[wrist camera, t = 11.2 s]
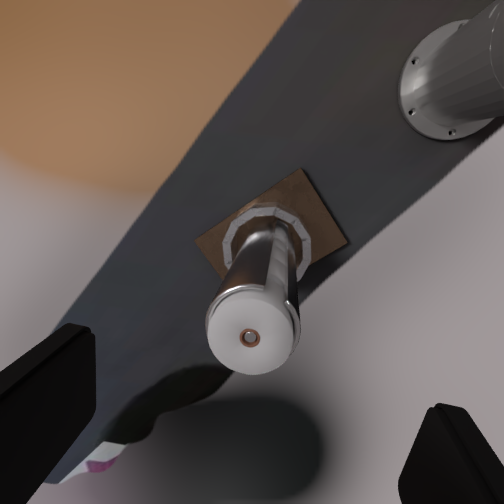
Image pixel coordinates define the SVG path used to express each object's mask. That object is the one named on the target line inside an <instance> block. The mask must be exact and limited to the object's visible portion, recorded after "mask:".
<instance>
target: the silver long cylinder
mask: <svg viewBox="0 0 504 504" xmlns="http://www.w3.org/2000/svg"><path fill="white" fill-rule="evenodd" d="M205 328H206V334H207V338H208V341H209V346H210V348H211V350H212V352H213V354H214V355H215V356H216V357H217V359H218V360H219V361H220V362H221V363H222V364H224V365H225V366H226V367H228V368H229V369H232V370H234V371H237V372H239V373H243V374H248V375H257V374H258V375H259V374H264V373H267V372H270V371H272V370H274V369H276V368H278V367H280V366H281V365H282V364H283V363H284V362H285V361H286V360H287V358H288V357H289V356H290V355H291V354H292V353H293V352H294V350H295V348H296V346H297V344H298V342H299V338H300V333H301V325H300V313H299V300H298V287H297V274H296V261H295V249H294V237H293V234H292V231H291V229H290V228H289V227H288V225H286V224H285V223H284V222H282V221H280V220H278V219H272V218H269V219H264V220H261V221H259V222H257V223H256V224H255V225H254V226H253V227H252V228H251V230H250V232H249V233H248V235H247V237H246V239H245V241H244V243H243V245H242V246H241V248H240V250H239V252H238V254H237V256H236V258H235V259H234V261H233V263H232V265H231V267H230V269H229V270H228V272H227V274H226V276H225V278H224V280H223V282H222V283H221V285H220V287H219V289H218V291H217V293H216V295H215V296H214V298H213V300H212V302H211V304H210V306H209V309H208V311H207V313H206V321H205Z"/></svg>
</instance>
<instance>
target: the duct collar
mask: <svg viewBox="0 0 504 504" xmlns="http://www.w3.org/2000/svg"><path fill="white" fill-rule="evenodd" d="M269 218H272V219H278V220H280V221H282V222H284V223H285V224H286V225H288V227H289V228H290V229H291V231H292V234H293V237H294V249H295V261H296V274H297V282H298V281H300V279H301V278H302V276H303V274H304V273H305V271H306V269H307V267H308V266H309V265H311V264H312V263H314V262H316V261H317V260H319V259H321V258H323V257H324V256H326V255H328V254H329V253H331V252H333V251H334V250H336V249H338V248H340V247H341V246H343V245H345V244H346V243H347V241H346V239H345V238H344V236H343V235H342V233H341V231H340V230H339V228H338V227H337V225H336V223H335V222H334V220H333V219H332V217H331V215H330V214H329V212H328V211H327V209H326V207H325V206H324V204H323V203H322V201H321V199H320V198H319V196H318V195H317V193H316V191H315V190H314V188H313V187H312V185H311V183H310V182H309V180H308V179H307V177H306V175H305V174H304V172H303V171H302V169H301V168H299V169H298V170H296V171H295V172H293V173H292V174H290V175H289V176H287V177H286V178H284V179H283V180H281V181H280V182H279V183H277V184H276V185H274V186H273V187H271V188H270V189H268V190H267V191H265V192H264V193H262V194H261V195H259V196H258V197H256V198H255V199H254V200H252V201H251V202H249V203H248V204H246V205H245V206H243V207H242V208H240V209H239V210H237V211H236V212H234V213H233V214H232V215H230V216H229V217H227V218H226V219H224V220H223V221H221V222H220V223H218V224H217V225H215V226H214V227H212V228H211V229H209V230H208V231H207V232H205V233H204V234H202V235H201V236H199V237H198V238H196V239H195V240H194V241H195V243H196V244H197V245H198V247H199V248H200V249H201V251H202V252H203V254H204V255H205V256H206V258H207V259H208V260H209V262H210V263H211V265H212V266H213V267H214V269H215V270H216V271H217V273H218V274H219V276H220V277H221V278H222V280H224V278H225V276H226V274H227V272H228V270H229V269H230V267H231V265H232V263H233V261H234V259H235V258H236V256H237V254H238V252H239V250H240V248H241V246H242V245H243V243H244V241H245V239H246V237H247V235H248V233H249V232H250V230H251V228H252V227H253V226H254V225H255V224H256V223H257V222H259V221H261V220H264V219H269Z"/></svg>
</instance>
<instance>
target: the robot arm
mask: <svg viewBox="0 0 504 504" xmlns="http://www.w3.org/2000/svg"><path fill="white" fill-rule="evenodd" d="M411 61H414V65H413V64H412V62H411ZM398 102H399V106H400V110H401V112H402V114H403V117H404V119H405V120H406V121H407V123H408V124H409V125H410V127H412V128H413V129H414V130H415V131H416V132H418V133H419V134H421V135H423V136H425V137H428V138H432V139H435V140H452V139H458V138H462V137H466V136H468V135H471V134H473V133H475V132H477V131H479V130H480V129H482V128H483V127H485V126H486V125H487V124H489V123H490V122H491V121H492V120H493V119H494V118H495V117H499V116H504V0H496V1H494V2H493V3H492V4H490V5H489V6H488V7H487V8H485V9H484V10H483V11H481V12H480V13H479V14H477V15H476V16H475V17H474V18H472V19H471V20H460V21H455V22H452V23H449V24H446V25H444V26H442V27H440V28H438V29H437V30H435V31H433V32H432V33H430V34H429V35H428V36H427V37H426V38H424V39H423V40H422V41H421V42H420V43H419V44H418V45H417V46H416V47H415V49H414V50H413V51H412V53H411V54H410V55H409V57H408V59H407V60H406V62H405V64H404V66H403V69H402V72H401V75H400V78H399V84H398ZM409 111H411V112H412V114H411V115H409ZM449 131H450V132H451V134H450V135H449ZM95 410H96V355H95V335H94V334H93V333H91V330H90V328H89V327H86V326H81V325H76V324H72V323H67V324H65V325H63V326H62V327H61V328H59V329H58V330H57V331H55V332H54V333H53V334H51V335H50V336H48V337H47V338H46V339H44V340H43V341H42V342H40V343H39V344H38V345H36V346H35V347H33V348H32V349H31V350H29V351H28V352H27V353H25V354H24V355H23V356H21V357H20V358H18V359H17V360H16V361H14V362H13V363H12V364H10V365H9V366H8V367H6V368H5V369H4V370H2V371H1V372H0V504H26V503H27V502H28V501H29V499H30V498H31V497H32V495H33V494H34V493H35V492H36V490H37V489H38V488H39V486H40V485H41V484H42V483H43V481H44V480H45V479H46V477H47V476H48V475H49V474H50V472H51V471H52V470H53V468H54V467H55V466H56V465H57V463H58V462H59V461H60V459H61V458H62V457H63V455H64V454H65V453H66V452H67V450H68V449H69V448H70V446H71V445H72V444H73V443H74V441H75V440H76V439H77V437H78V436H79V435H80V433H81V432H82V431H83V430H84V428H85V427H86V426H87V424H88V423H89V422H90V420H91V419H92V417H93V415H94V413H95ZM398 491H399V496H400V499H401V502H402V504H504V466H503V464H502V463H501V461H500V460H499V459H498V457H497V455H496V454H495V452H494V451H493V450H492V448H491V446H490V445H489V443H488V442H487V440H486V439H485V437H484V436H483V435H482V433H481V431H480V430H479V429H478V427H477V425H476V424H475V423H474V421H473V420H472V418H471V417H470V415H469V414H468V412H467V411H466V410H465V409H463V408H461V407H457V406H452V405H448V404H442V403H437V404H436V405H435V407H430V408H429V409H428V410H427V413H426V415H425V417H424V420H423V422H422V425H421V427H420V429H419V432H418V434H417V437H416V439H415V441H414V444H413V446H412V448H411V451H410V453H409V456H408V458H407V460H406V463H405V465H404V468H403V470H402V472H401V475H400V477H399V480H398Z"/></svg>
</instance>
